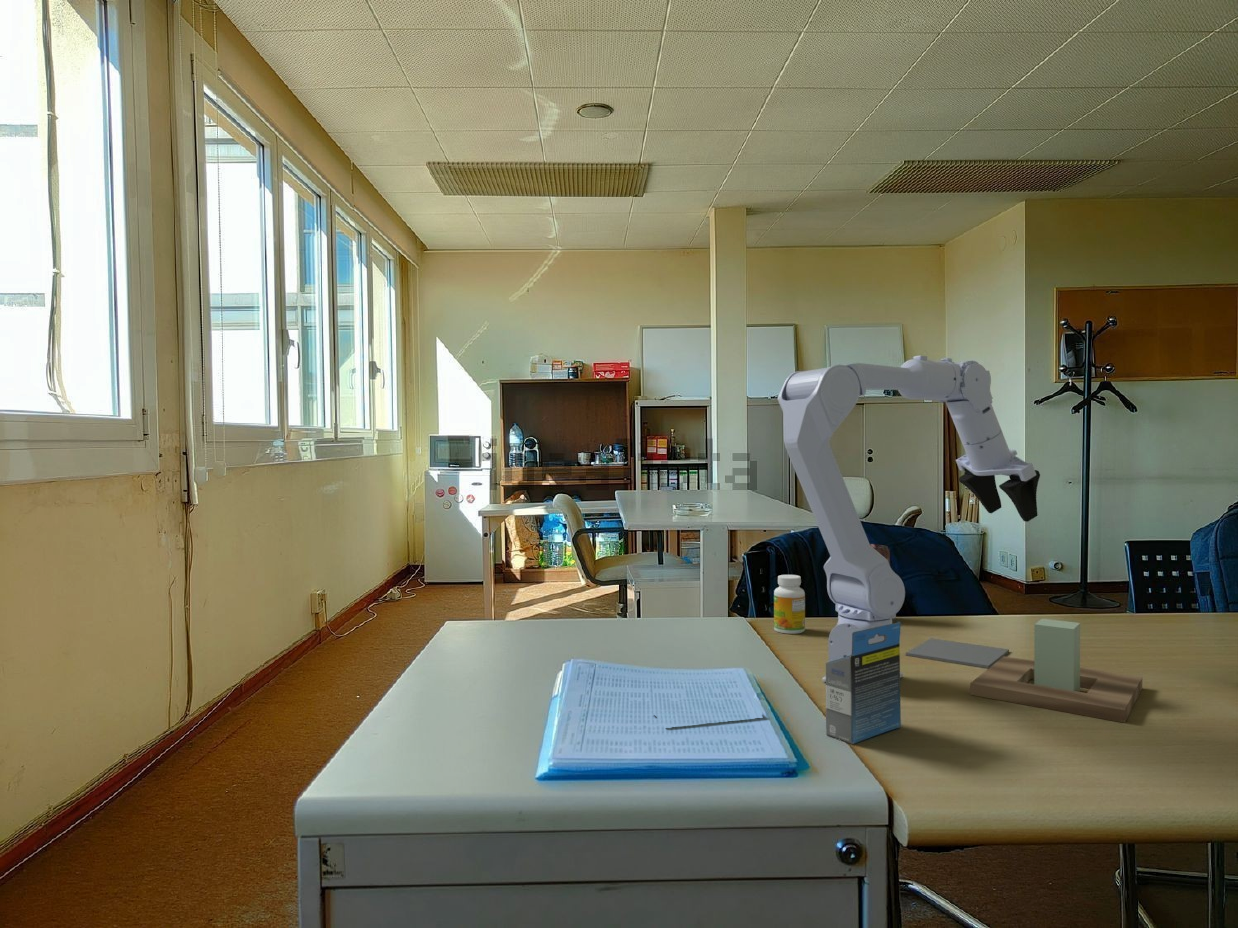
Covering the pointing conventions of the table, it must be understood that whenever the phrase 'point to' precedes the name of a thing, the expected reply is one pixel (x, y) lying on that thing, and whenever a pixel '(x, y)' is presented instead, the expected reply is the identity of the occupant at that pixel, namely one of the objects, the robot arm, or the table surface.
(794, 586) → the supplement bottle
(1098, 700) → the collar
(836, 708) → the label tape cartridge
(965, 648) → the pad
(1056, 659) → the peg
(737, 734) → the table surface
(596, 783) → the table surface
